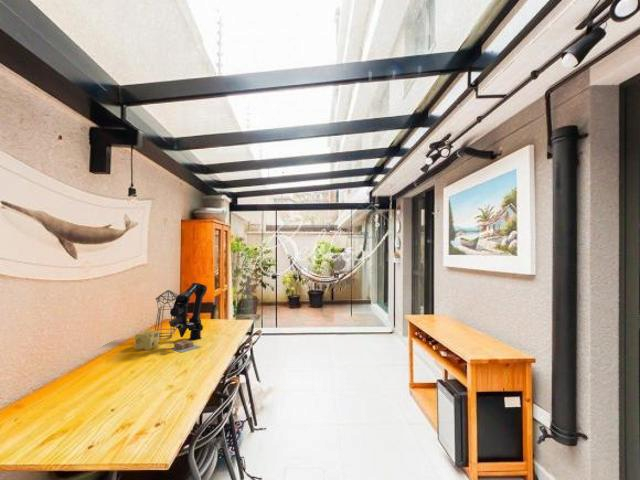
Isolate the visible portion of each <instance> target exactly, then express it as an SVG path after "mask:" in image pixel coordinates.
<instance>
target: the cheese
mask: <svg viewBox="0 0 640 480" xmlns="http://www.w3.org/2000/svg"><path fill="white" fill-rule="evenodd" d="M159 332H160V330H158V331H157V330H156V331H155V330H142V331H141V332H139V333H136V334H135V340H134V349H135V350H136V351H137V350H139V351H141V350H145V351H150V350H151V351H152V349H154V348H156V347H157V346H158V345H159V340H160V337H159Z"/></svg>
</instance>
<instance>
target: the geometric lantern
mask: <svg viewBox="0 0 640 480" xmlns="http://www.w3.org/2000/svg"><path fill="white" fill-rule="evenodd" d="M166 295H167V296H166ZM178 295H179V294H178V293H175V291H172V290H170V289H167V290H166V291H164V292H163V293H160V294H159V295H158V296H157V297H156V298H155V300H156V303H157V313H156V314H157V315H156V321H155V327H154V331H159V338H161V337H162V335H165V334H166V335H165V337H166V338H165V337H164V338H163V340H165V339H166V340H168V339H171V338H172V337H173V334H175V333H176V331H177V329H178V328H176V327H172V326H170V328H162V327H163V318H164V310H168V311H169V310H170V311H171V309H172V308H173V307H172V306H171V304H170V303H172V304H173V305H174V303H175V302H173V301H176V298H177V296H178ZM170 297H171V298H170ZM161 303H162V304H161ZM166 304H168V307H169V308H165V307H166ZM159 305H160V307H159ZM175 318H176V317H173V316H171V315H170V321H171V320H173V319H175ZM160 320H161V322H160ZM159 327H160V328H159ZM163 330H170V332H161V331H163ZM168 334H169V335H168ZM167 337H168V338H167Z"/></svg>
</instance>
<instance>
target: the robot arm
mask: <svg viewBox="0 0 640 480" xmlns="http://www.w3.org/2000/svg"><path fill="white" fill-rule="evenodd" d="M207 290H208V286H206V285H205V284H202V283H199V282H192V283H191V285H190V286H189V287H188V288H187V289H186V290H185V291H184V292H182V293H180V294H177V295H178V296H177V295H176V296H177V298H176V299H175V300H174V302H173V303H174V304H173V306H172V307H171V308H172V309H171V308H170V309H171V310H170V311H169V314H170V317H171V316H172V320H171V319H170V321H168V323H169V327H171V326H172V328H174V327H175V329H176V328H177V329H178V332H179V335H180V337H181V338H183V337H184V336H185V333H186V332H187V330H188V331H189V332H190V333H189V338H188V339H189V340H191V341H197V340H201V339H203V337H202V336H201V333H202V331H203V329H204V325H203V323H202V320H201V317H200V315H201V309H202V303H203V297H204V296H205V295H206V292H207ZM192 295H195V299H194V306H193V312H192V316H191V317H190V318H189V319H188V317H189V314H188V307H189V306H190V304H189V302H190V300H191V297H192ZM174 317H175V319H174Z"/></svg>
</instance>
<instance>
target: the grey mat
mask: <svg viewBox="0 0 640 480" xmlns="http://www.w3.org/2000/svg"><path fill="white" fill-rule="evenodd" d="M199 347H200V348H201V346H200V345H196V344H193V347H190V348H187V349H183V350H181V349H178V348H175V347H172V348H171V350H172V351H175V352H178V353H185V352H189V351H192V350H196V349H199Z"/></svg>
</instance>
